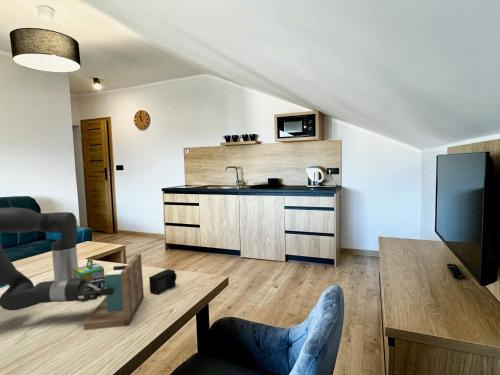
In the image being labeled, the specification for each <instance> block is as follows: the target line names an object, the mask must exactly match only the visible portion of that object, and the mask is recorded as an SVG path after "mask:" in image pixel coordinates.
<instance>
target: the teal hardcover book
mask: <svg viewBox="0 0 500 375" xmlns="http://www.w3.org/2000/svg"><path fill="white" fill-rule="evenodd" d="M122 271H123V270H108V271H107V273H106V274H104V277H105V288H113V289H114V293H113V295H105V297H106V301H107V312H110V311H121V310H123V298H122V284H121V272H122Z"/></svg>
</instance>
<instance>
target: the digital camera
mask: <svg viewBox="0 0 500 375" xmlns="http://www.w3.org/2000/svg"><path fill="white" fill-rule="evenodd" d="M148 279H149V293H150V294H152V295H157V296H158V295H159V294H161V293H164V292H166V291H167V290H170V289H172V288H173V287H175V286H176V281H177V274H176V270H175V269H170V268H167V269H165V270H162V271H160V272H158V273H156V274H154V275H153V274H152V275H150V276H149V277H148Z"/></svg>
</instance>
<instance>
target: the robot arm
mask: <svg viewBox="0 0 500 375" xmlns="http://www.w3.org/2000/svg"><path fill="white" fill-rule="evenodd" d="M32 232H42V233H50V234H60V239H58V240H55V241H53V242H52V243H51V254H52V255H51V256H52V257H51V258H52V265H53V266H52V268H53V279H54V280H49V281H41V282H39V283H37V284H36V285H34V283H33V281H32V280H31V279H29V278H28V277H27V276H26V275H24V273H22V272H20V271H19V270H17V268H16V266H14V264H13V262H12V261H11V260H10V258H9V257H8V255H7V254H6V253H7V252H5V249H4V248H3V247H2V244H1V243H0V287H2V286H5V285H8V288H7V289H6V290H5V291H4V292H3V293H2V294H1V296H0V308H2V309H3V310H7V311H18V310H19V311H21V310H24V309H27V308H29V307H33V306H36V305H39V304H47V303H65V302H67V303H68V302H76V301H77V302H82V301H83V302H85V301H84V300H86V301H97V300H98V298H101V297H102V296H103V297H104V296H105V297H106V295H113V293H114V289H113V288H105V276H104V277H98V278H94V280H93V281H90V282H87V281H86V279H84V278H75V279H73V269H75V268H79V262H78V254H77V253H78V251H77V240H78V222H77V217H76V215H75V214H74V213H73V212H70V211H67V212H66V211H64V212H60V211H57V212H48V213H47V212H45V213H44V212H43V213H42V212H41V213H40V212H36V211H35V210H33V209H31V208H24V207H11V206H10V207H0V233H12V234H14V233H15V234H24V233H25V234H26V233H32ZM90 296H92V297H90Z"/></svg>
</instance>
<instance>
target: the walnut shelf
mask: <svg viewBox="0 0 500 375" xmlns="http://www.w3.org/2000/svg"><path fill="white" fill-rule="evenodd" d="M142 266H143V265H142V254H141V253H136V255H135V256H134V257H133V258H132V259H131V261H129V263H128V264H127V265H115V266H113V270H123V271H122V272H121V284H122V298H123V310H121V311H110V312H107V301H106V296H105V297H104V299H103V300H101V302H100V303H99V304H98V306H97V307H96V308H95V309H94V310H93V312H92V313H91V314H90V315H89V317H88V318H87V319H86V320H85V322H84V323H83V329H84V330H94V329H95V330H96V329H104V328H113V327H114V328H115V327H123V326H124V327H125V326H130V325H131V323H132V321H133V319H134V317H135V315H136V313H137V311H138V310H139V308H140V306H141V304H142V302H143V300H144V297H145V296H144V281H143V280H144V279H143V267H142Z"/></svg>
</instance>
